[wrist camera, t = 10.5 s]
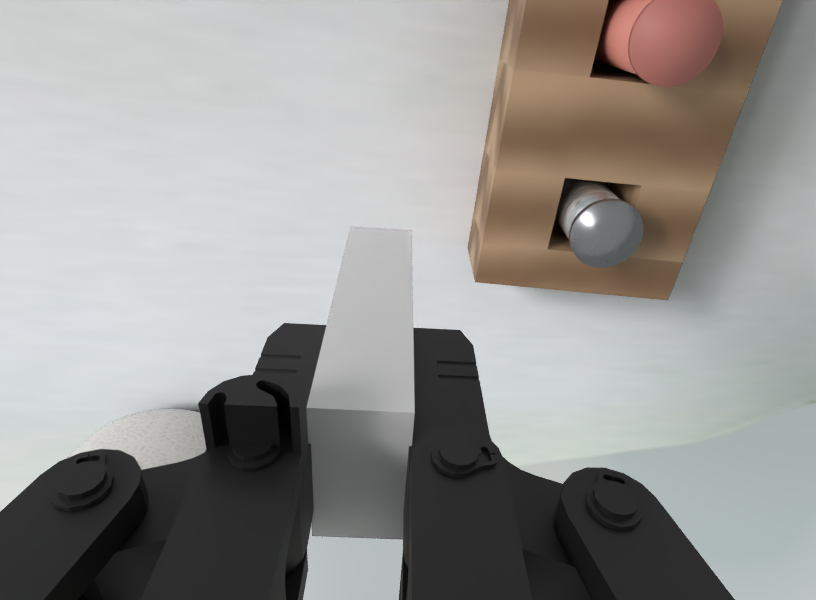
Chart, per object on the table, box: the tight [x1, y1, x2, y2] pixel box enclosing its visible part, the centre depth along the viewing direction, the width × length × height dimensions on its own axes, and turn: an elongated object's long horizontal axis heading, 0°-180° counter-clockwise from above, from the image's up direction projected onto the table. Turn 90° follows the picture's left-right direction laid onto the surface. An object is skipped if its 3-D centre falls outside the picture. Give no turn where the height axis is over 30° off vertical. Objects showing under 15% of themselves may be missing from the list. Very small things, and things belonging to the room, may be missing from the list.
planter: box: [68, 409, 206, 470], centre depth 47 cm, size 21×21×19 cm
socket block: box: [468, 0, 783, 300], centre depth 36 cm, size 22×14×6 cm, turn 174°
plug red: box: [595, 0, 723, 87], centre depth 31 cm, size 4×4×9 cm
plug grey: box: [555, 178, 644, 268], centre depth 37 cm, size 4×4×9 cm
